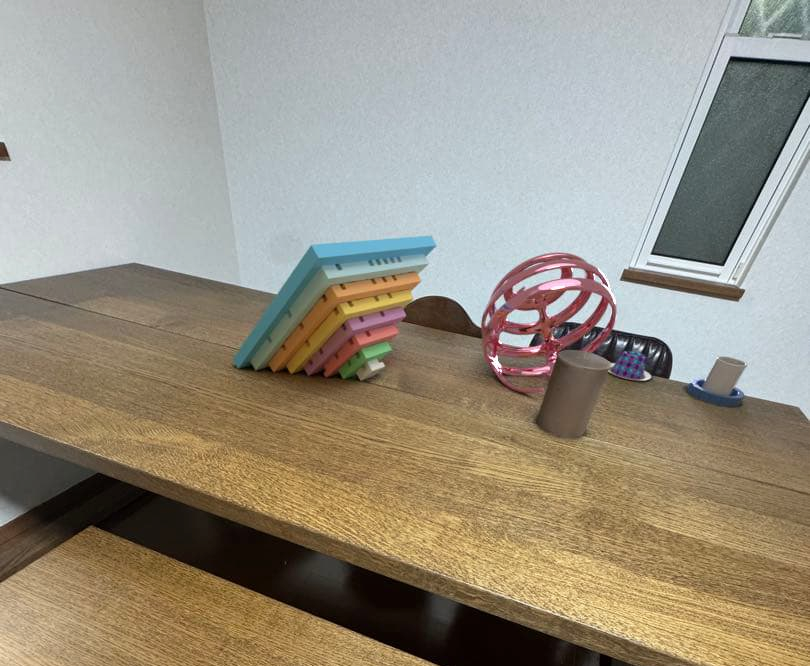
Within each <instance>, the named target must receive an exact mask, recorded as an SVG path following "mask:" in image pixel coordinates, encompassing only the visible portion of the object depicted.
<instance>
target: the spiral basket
mask: <svg viewBox="0 0 810 666" xmlns="http://www.w3.org/2000/svg"><path fill="white" fill-rule="evenodd" d="M573 269H579V270H582V271H583V275H584V276H583V277H574V272H573ZM553 270H560V278H556V279H551V280H548V281H545V282H541V283H538V284H535V285H533V286H530V287H529V288H526V285H524V286H522V287H521V288H520V289H518V290H517V291H516V292H514V291H515V290H514V286H517V285H518V284H520V283H521V282H523V281H525V280H527V279H528V278H531V277H533V276H536V275H539V274H542V273H544V272H545V273H546V272H548V271H553ZM595 276H596V277H598V279H599V280H600V281H601V282H599V281H596V278H595ZM569 291H579V293H578V295H577V296H576V297H575V298H574V300H573V301H572V302H571V303H570V304H569V305H568V306H566V307H565V308H564V309H562V310H561V311H559V312H558V313H556V314H553V316H550V315H548V312H547V308H548V306H550V305H551V304H554V303H555V302H557V300H559V299H560V298H561V297H562V296H563V295H564V294H565V293H566V292H569ZM592 294H595V295H598V296H600V297H601V298H600V299H599V302H598V304H597V306H596V307H595V309H594V311H593V312H592V313H591V315H590V316H589V317H588V318H587V319H586V320H585V321H583V323H581V324H580V325H578V327H576V328H575V329H573V330H572V331H570V332H569V333H567V334H565V335H563V336H562V337H560V338H559V337H558V338H555V337H554V335H553V331H554V330H555V328H557V327H559V326H561V325H563V324H564V323H566V322H567V321H569V320H570V319H572V318H573V317H574V316H575V315H577V314H578V313H579V312H580V311H581V310H582V309H583V308H584V306H586V304H587V303H588V302H589V300H590V298H591V296H592ZM502 296H503V299H504V301H505V302H504V303H503V304H502V305H501V306H500V307H499V308H498V309H497V305H496V302H497V301H498V300H499V299H500V298H501V297H502ZM609 306H610V309H611V313H610V317H609V320H608V322H607V323H606V325H605V327H604V328H603V329H602V331H601V332H600V334H598V335H597V337H596V338H594V340H592V341H591V342H590V343H589V344H587V345H586V346H585V347H583V348H582V349H580V350H579V351H584V352H585V351H587V352H588V353H592V354H594V352H595V351H596V350H597V349H599V348H600V347H601V346H602V345H603V343H605V341H606V340H607V339H608V338H609V336H610V335H611V333H612V331H613V329H614V326H615V325H616V320H617V315H618V314H617V313H618V311H617V309H618V308H617V302H616V299H615V297H614V294H613V293H612V292H611V288H610V284H609V281H608V279H607V278H606V276H605V274H604V273H603V272H602V271H601V270H600V269H599V268H597V267H596V266H595V265H593V264H592V263H589V262H588V261H587V260H585V259H583V257H581V256H579V255H576V254H572V253H569V252H558V251H557V252H548V253H543V254H540V255H536V256H533V257H531V258H528V259H526V260H524V261H522V262H521V263H519V264H518V265H516V266H514V267H513V268H512V269H510V270H509V271H508V272H506V274H505V275H504V276H503V277H502V278H501V279H500V280H499V282H498V283H497V285H496V286H495V288H494V289H493V291H492V293H491V295H490V298H489V300H488V302H487V303H486V306H485V308H484V310H483V313H482V317H481V322H480V330H481V331H480V332H481V350H482V353H483V356H484V359H485V361H486V362H487V364H488V365H489V366H490V367H491V369H492V370H493V372H494V374H495V375H496V377H497V379H498V380H499V382H501V383H502V384H503V385H504V386H505V387H507V388H508V389H510V390H512V391H515V392H516V393H520V394H536V393H541V392H543V391H544V390H545V388H544V387H537V388H535V387H534V388H523V387H518V386H515V385H513V384H511V383H510V382H508V380H506V378H505V377H504V375H506V376H522V377H523V376H525V377H539V376H548V378H550V377H551V374H552V370H553V367H554V364H555V361H556V358H557V355H558V353H559V352H561V351H562V350H563V349H564V348H567V347H569V346H571V345H572V344H574V343H576V342H578V341H579V340H580V339H581V338H583V337H585V336H586V335H587V334H588V333H589V332H590V331H592V330H593V329H594V328H595V327H596V325H597V324H598V323H599V322H600V321H601V320H602V318H603V316H604V315H605V313H606V311H607V309H608V307H609ZM515 310H516V311H521V312H530V311H537V312H538V316H539V318H538V320H537V321H534V322H530V323H527V322H526V323H518V322H513V321H510V320H508V316H509V314H512V313H513V312H514V311H515ZM488 316H489V320H488V321H487V318H488ZM502 333H507V334H510V335H515V336H530V335H540V336H541V338H542V341H541V343H540V344H538V345H534V346H512V345H507V344H504V343H502V342H501V340H500V338H501V337H500V336H501V334H502ZM487 347H488V348H487ZM488 350H489V353H488ZM499 355H501V356H505V357H509V358H514V359H515V358H516V359H527V358H528V359H529V358H536V357H543V358H545V363H544V364H543V365H539V366H534V367H514V366H509V365H508V366H507V365H505V364H502V363H501V362H500V360H499V358H498V356H499Z"/></svg>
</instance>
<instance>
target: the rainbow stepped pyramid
mask: <svg viewBox="0 0 810 666" xmlns="http://www.w3.org/2000/svg"><path fill="white" fill-rule="evenodd" d="M436 247H437V243H436V241H435V239H434V237H433V235H420V236H409V237H408V236H407V237H406V236H405V237H395V238H394V237H393V238H383V239H382V238H380V239H369V240H355V241H354V240H353V241H344V242H329V243H317V244H316V243H315V244H311V245H310V246H309V247H308V249H307V250H306V251H305V253H304V255H303V256H302V258H301V259H300V260H299V262H298V263H297V264H296V266H295V268H294V269H293V270H292V272H291V274H290V275H289V276H288V277H287V279H286V280H285V282H284V283H283V285H282V286H281V288H280V289H279V290H278V292H277V293H276V295H275V296H274V298H273V299H272V301H271V303H270V304H269V305H268V307H267V308H266V309H265V311H264V312H263V314H262V315H261V317H260V318H259V320H258V321H257V323H255V325H254V327H253V328H252V330H251V331H250V333H249V334H248V336H247V337H246V339H245V340H244V341H243V342H242V344H241V346H240V348H239V349H238V350H237V352H236V353H235V355H234V356H233V357H232V361H233V363H234V365H235V366H236V368H237V369H242V368H245V367H249V366H252V367H253V368H254V370H255V371H259V370H262V369H265V368H270V369H271V371H272V372H273V373H275V372H279V371H282V370H285V369H287V370H288V372H289V373H290V375H292V374H295V373H298V372H301V371H305V372H306V374H307V376H312V375H315V374H318V373H322V372H323V375H324V377H325V378H329V377H332V376H335V375H338V374H340V377H341V378H342V379H343V380H345V379H348V378H350V377H351V378H352V377H353V376H356V375H357V377H358V379H359V380H360V382H361V381H364V380H367V379H369V378H373V377H374V376H375V375H377V374H378V373H379V372H380V371H381V370H382V369H384V368H385V367H386V366H385V363H384V362H383V361H381V360H383V358H384V357H385V356H387V355H388V354H389V353H391V352H392V350H393V349H392V346H391V345H390V342H391V341H392V340H393V339H395V337H397V336H398V335H399V334H400V332H399V329H398V328H397V325H398V324H400V322H402V321H403V320H404V319H405V318H406V317H407V314H406V312H405V310H404V309H405V308H406V307H407V306H408V305H409V304H410V303H412V301H413V300H414V299H415V298H414V295H413V294H412V291H413V290H414V289H415V288H416V287H418V285H419V284H420V283H421V282H422V278H421V277H420V275H419V274H420V273H421V272H422V271H423V270H424V269H425V268H426V267H427V266H428V265H429V264H430V262H429V261H428V258H427V256H428V255H429V254H430V253H431V252H433V250H434V249H435V248H436Z"/></svg>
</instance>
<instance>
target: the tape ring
mask: <svg viewBox="0 0 810 666" xmlns="http://www.w3.org/2000/svg"><path fill="white" fill-rule="evenodd" d="M705 379H706V378H704V377H703V378H702V377H701V378H699V377H698V378H693V379H691V380H690V382H689V383H688V385H687V387H686V392H687V393H688V394H689V395H690V396H691V397H693V398H696V399H698V400H700V401H703V402H705V403H709V404H711V405H712V404H713V405H715V406H722V407H730V408H731V407H737V406H739V405H740V404H741V403H742V402H743V399H744V398H745V392H743V391H742V389H740V388H738V387H736V386H735V388H734V389H733V391H732V393H731V394H730V396H725V395H720V394H716V393H712V392H710V391H707V390H705V389H703V388H701V387H702V385H703V383H704V381H705Z"/></svg>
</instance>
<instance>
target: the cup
mask: <svg viewBox="0 0 810 666" xmlns="http://www.w3.org/2000/svg"><path fill="white" fill-rule="evenodd" d="M747 367H748V363H747V362H745V361H743V360H741V359H739V358H735V357H730V356H725V355H723V356H721V355H720V356H717V357H716V359H715V360H714V362H713V364H712V365H711V367H710V370H709V372H708V374H707V376H706V377H705V378H704V379H705V381H704V383H703V385H702V387H701V388H703V389H705V390H707V391H710V392H712V393H716V394H720V395H725V396H730V394H731V393H732V391H733V389H734V388H735V387H736V386H737V385H738V383H739V381H740V379H741V377H742V376H743V374H744V372H745V370H746V369H747Z"/></svg>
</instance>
